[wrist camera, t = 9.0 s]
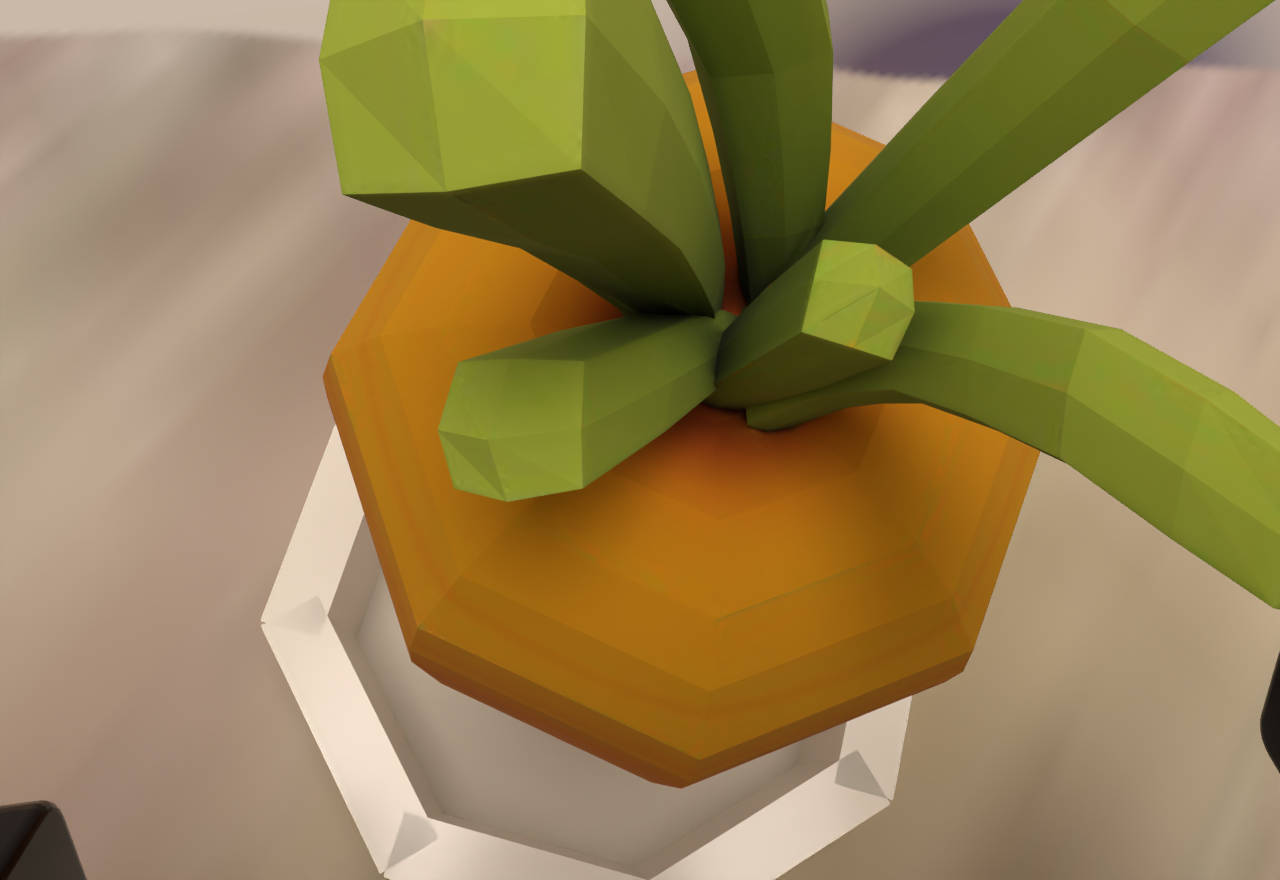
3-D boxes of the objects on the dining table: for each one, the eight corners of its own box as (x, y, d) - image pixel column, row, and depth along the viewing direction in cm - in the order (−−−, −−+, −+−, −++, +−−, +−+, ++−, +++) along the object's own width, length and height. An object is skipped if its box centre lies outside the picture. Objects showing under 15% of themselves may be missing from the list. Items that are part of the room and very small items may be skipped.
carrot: (759, 478, 18) (1607, -698, 4) (761, 794, 16) (2190, 821, 2) (454, 462, 18) (121, -916, 3) (428, 784, 16) (-387, 745, 2)
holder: (978, 723, 18) (1062, 710, 15) (480, 1042, 16) (468, 1100, 13) (695, 275, 20) (723, 189, 17) (221, 508, 18) (161, 455, 15)
